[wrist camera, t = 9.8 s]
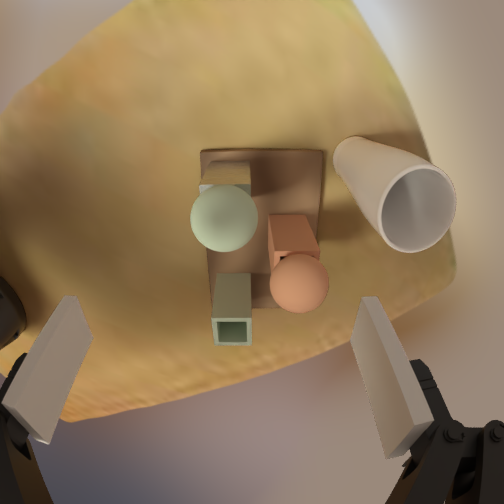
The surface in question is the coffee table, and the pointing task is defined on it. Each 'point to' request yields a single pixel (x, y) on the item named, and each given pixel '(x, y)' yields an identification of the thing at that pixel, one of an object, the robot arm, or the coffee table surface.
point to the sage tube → (232, 309)
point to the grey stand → (227, 175)
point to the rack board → (268, 209)
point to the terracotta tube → (290, 238)
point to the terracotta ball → (299, 283)
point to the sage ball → (224, 218)
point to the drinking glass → (397, 192)
